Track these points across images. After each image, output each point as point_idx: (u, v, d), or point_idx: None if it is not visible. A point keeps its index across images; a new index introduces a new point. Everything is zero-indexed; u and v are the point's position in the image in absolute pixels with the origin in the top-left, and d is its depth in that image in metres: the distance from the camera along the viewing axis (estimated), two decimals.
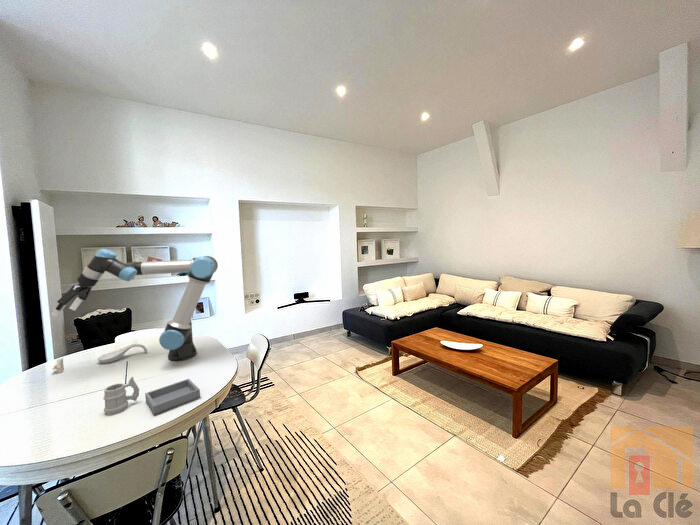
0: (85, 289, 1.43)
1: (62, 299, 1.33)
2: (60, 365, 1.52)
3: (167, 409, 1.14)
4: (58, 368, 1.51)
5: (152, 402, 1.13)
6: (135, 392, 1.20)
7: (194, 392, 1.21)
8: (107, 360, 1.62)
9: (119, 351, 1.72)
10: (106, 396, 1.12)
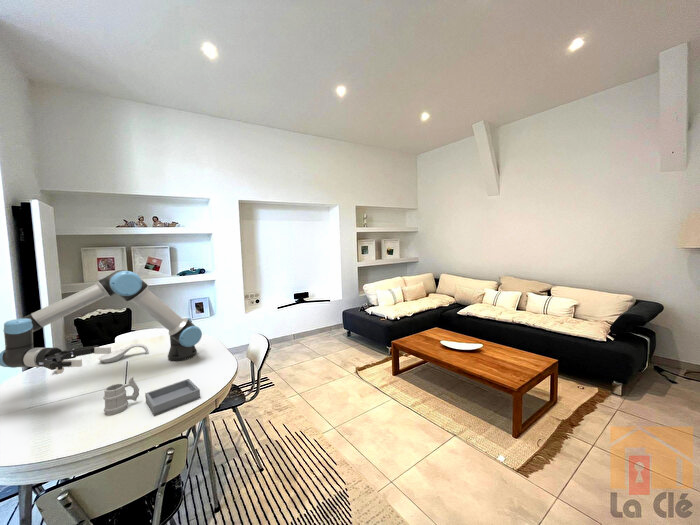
0: (58, 352, 1.15)
1: (49, 366, 1.06)
2: None
3: (167, 409, 1.14)
4: None
5: (152, 402, 1.13)
6: (135, 392, 1.20)
7: (194, 392, 1.21)
8: (107, 360, 1.62)
9: (121, 351, 1.73)
10: (106, 396, 1.12)
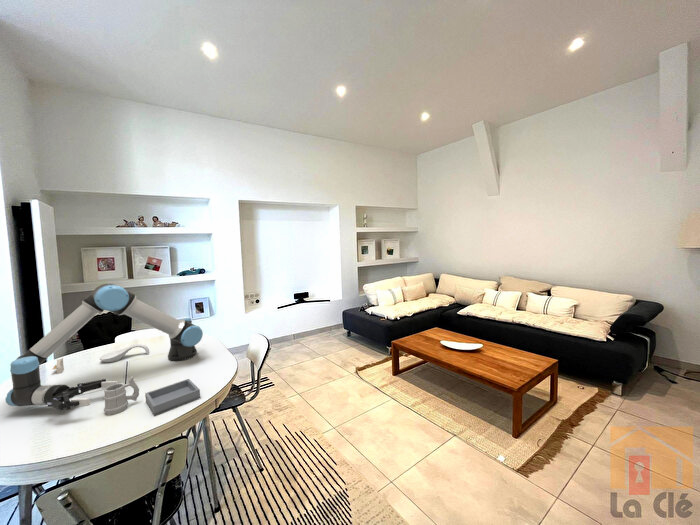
0: (65, 390, 1.15)
1: (58, 407, 1.07)
2: (60, 365, 1.52)
3: (167, 409, 1.14)
4: (58, 368, 1.51)
5: (152, 402, 1.13)
6: (135, 392, 1.20)
7: (194, 392, 1.21)
8: (107, 360, 1.63)
9: (122, 351, 1.73)
10: (106, 396, 1.12)
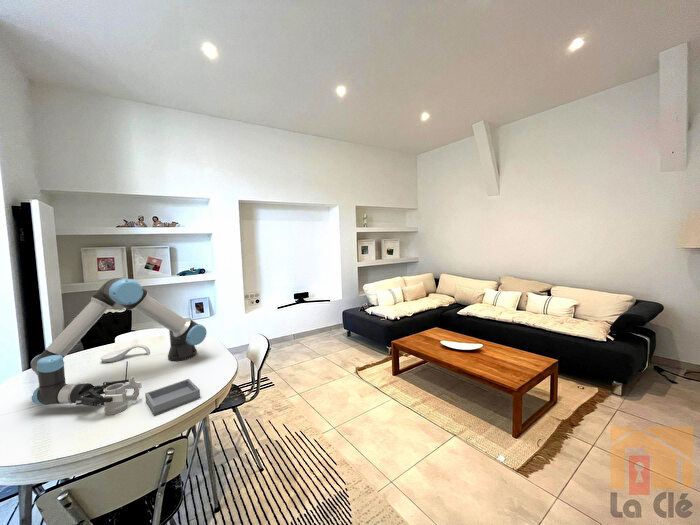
0: (90, 389, 1.15)
1: (91, 403, 1.08)
2: None
3: (167, 409, 1.14)
4: None
5: (152, 402, 1.13)
6: (135, 392, 1.20)
7: (194, 392, 1.21)
8: (107, 360, 1.63)
9: (123, 351, 1.73)
10: None
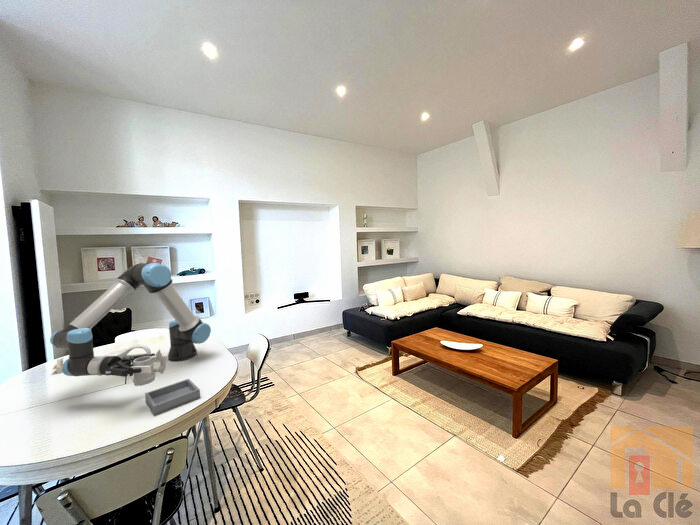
0: (119, 361, 1.17)
1: (121, 374, 1.09)
2: (60, 365, 1.52)
3: (167, 409, 1.14)
4: (58, 368, 1.51)
5: (152, 402, 1.13)
6: (162, 365, 1.21)
7: (194, 392, 1.21)
8: None
9: (125, 350, 1.73)
10: None
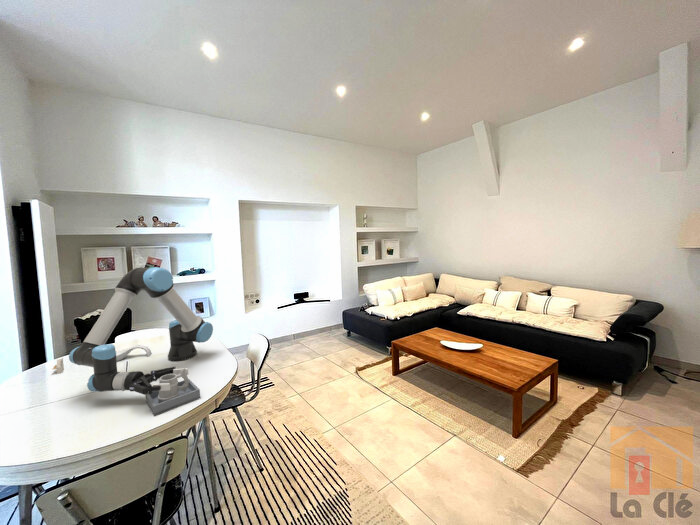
0: (143, 376, 1.20)
1: (142, 391, 1.12)
2: (60, 365, 1.52)
3: (167, 409, 1.14)
4: (58, 368, 1.51)
5: (152, 402, 1.13)
6: (185, 383, 1.24)
7: (194, 392, 1.21)
8: None
9: (126, 350, 1.73)
10: None
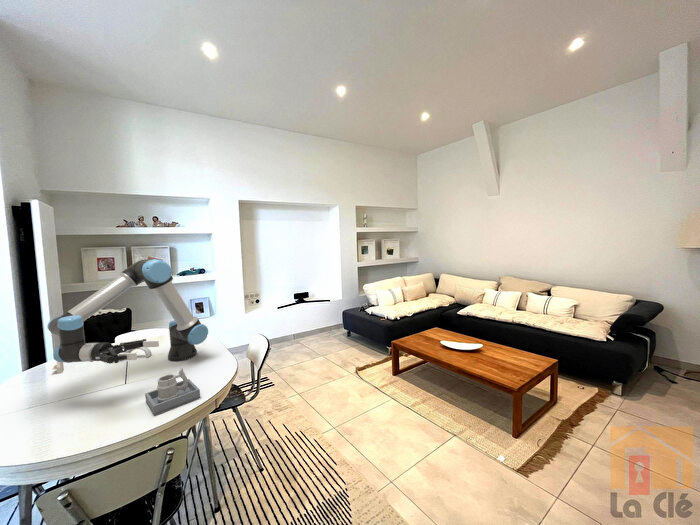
0: (110, 347, 1.18)
1: (107, 360, 1.10)
2: (60, 365, 1.52)
3: (167, 409, 1.14)
4: (58, 368, 1.51)
5: (152, 402, 1.13)
6: (184, 383, 1.24)
7: (194, 392, 1.21)
8: None
9: None
10: (160, 386, 1.17)
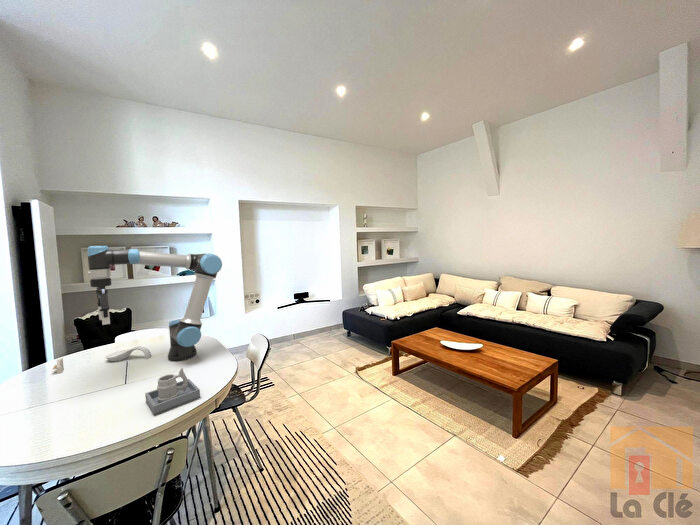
0: (107, 291, 1.35)
1: (104, 305, 1.28)
2: (60, 365, 1.52)
3: (167, 409, 1.14)
4: (58, 368, 1.52)
5: (152, 402, 1.13)
6: (184, 383, 1.24)
7: (194, 392, 1.21)
8: (109, 359, 1.64)
9: None
10: (160, 386, 1.17)
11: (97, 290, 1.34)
